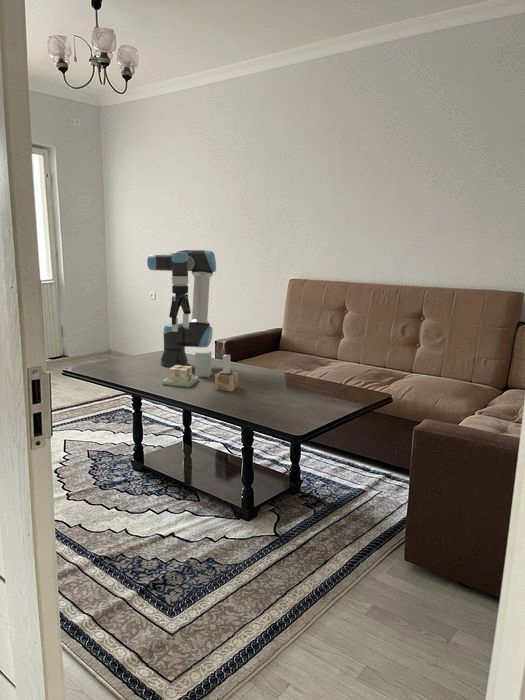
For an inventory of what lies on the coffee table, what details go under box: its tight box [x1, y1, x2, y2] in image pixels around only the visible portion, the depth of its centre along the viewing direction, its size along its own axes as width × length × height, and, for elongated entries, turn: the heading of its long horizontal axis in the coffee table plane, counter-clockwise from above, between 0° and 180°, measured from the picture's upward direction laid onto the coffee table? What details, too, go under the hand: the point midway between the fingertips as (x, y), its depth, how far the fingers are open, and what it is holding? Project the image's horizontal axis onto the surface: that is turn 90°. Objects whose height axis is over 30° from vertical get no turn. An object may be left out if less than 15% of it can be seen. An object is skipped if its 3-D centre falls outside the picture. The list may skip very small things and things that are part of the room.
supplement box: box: [194, 349, 212, 378], centre depth 281 cm, size 7×7×13 cm
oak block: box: [214, 370, 239, 392], centre depth 258 cm, size 8×8×7 cm
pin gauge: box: [222, 354, 231, 376], centre depth 257 cm, size 4×4×16 cm
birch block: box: [168, 365, 193, 383], centre depth 265 cm, size 8×8×7 cm
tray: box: [161, 375, 200, 388], centre depth 266 cm, size 14×14×2 cm
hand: (180, 329), depth 261 cm, fingers open, 13 cm apart
